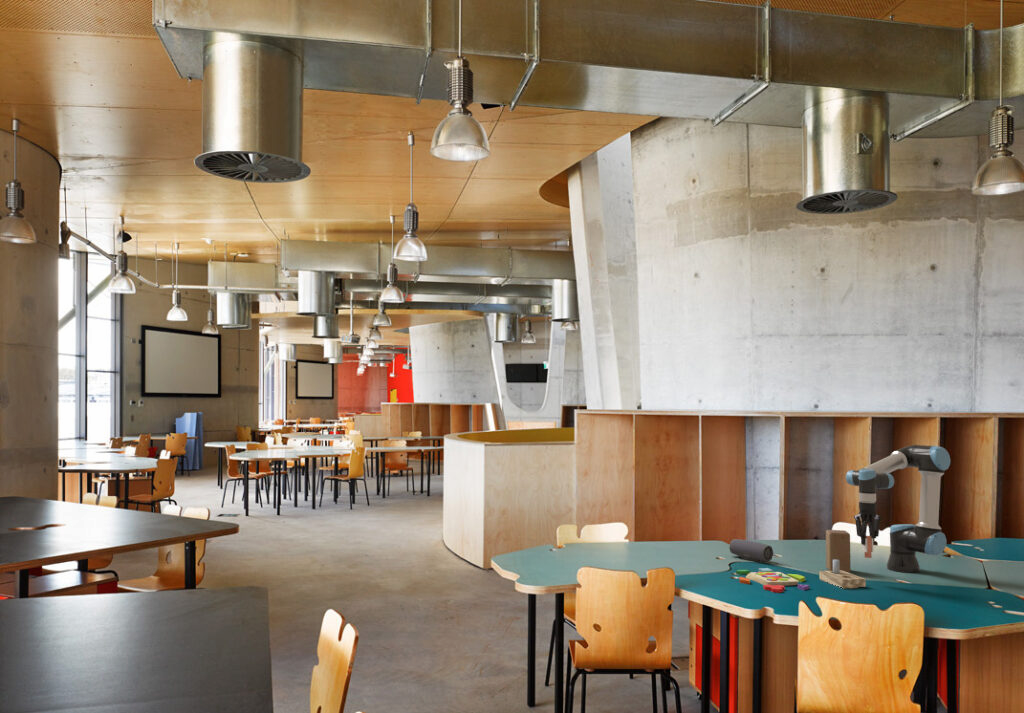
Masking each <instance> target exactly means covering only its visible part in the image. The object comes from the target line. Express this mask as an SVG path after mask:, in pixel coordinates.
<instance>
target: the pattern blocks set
mask: <svg viewBox="0 0 1024 713" xmlns="http://www.w3.org/2000/svg"><path fill="white" fill-rule="evenodd" d="M735 574H736V575H738V576H739V578H738V579H739V583H740V584H744V585H751V581H754V582H756V583H759V584H761V585H763V586H762V589H763V590H764V591H769V592H772V593H776V594H779V593H783V592H784V591H785V588H786V586H787V587H788V586H797V587H796V588H797V589H799V590H801V591H806V590H810V585H809V584H799V583H803V582H806V577H805V576H803V575H800V574H794V573H793V574H792V573H786V574H785V573H783V572H781V571H774V570H773V569H771V568H769V567H765V568H763V567H761V568H760V567H759V568H758V571H757V572H756V571H754V572H753V571H751V570H749V569H738V570H736V571H735ZM740 575H741V576H740ZM742 575H743V576H744V575H746V576H745V577H743V576H742Z"/></svg>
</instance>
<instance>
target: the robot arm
mask: <svg viewBox="0 0 1024 713" xmlns="http://www.w3.org/2000/svg"><path fill="white" fill-rule="evenodd" d="M950 465H951V457H950V454H949V452H948V450H947V449H946V448H944V447H942V446H938V445H923V444H922V445H921V444H913V445H912V444H911V445H907V446H904V447H901V448H899V449H897V450H896V449H895V450H894V451H893V452H891V453H890V455H888V456H885V457H884V458H882V459H880V460H878V461H876V462H874V463H872V464H869V465H867V466H865V467H863V468H862V467H861V469H858V470H855V469H854V470H848V471H847V472H846V474H845V480H846V483H847V484H848V485H850V486H854V487H858V501H859V502H858V509H859V512H858V514H857V515H854V516H853V518H854V520H855V530H856V535H857V536H858V537H859V538H860V543H861V544H860V545H862V547H861V548H862V552H864V553H865V552H867V538H866V536H867V529H868V533H869V536H871V553H874V545H875V542H876V541H875V539H877V537H879V534H880V524H881V523H880V522H881V520H882V515H878V514H877V503H876V502H877V490H881V489H882V490H887V489H891V488H893V487H894V485H895V478H894V476H893V474H891V473H892V472H894V471H897V470H899V469H900V470H903V469H906V468H918V469H917V470H918V471H917V472H918V473H919V474H920V493H919V494H920V496H919V515H918V523H916V524H911V523H909V524H908V523H903V524H892V525H891V526H890V528H889V529H890V530H889V544H890V548H889V550H890V551H889V552H890V554H889V556H888V560H887V563H886V568H887V569H888V570H891V571H893V572H899V573H911V574H912V573H913V574H914V573H919V572H920V570H921V569H920V564H919V561H918V559H917V555H916V553H922V554H926V555H931V556H938V555H940V554H942V553H943V552H944V551H945V549H946V547H947V537H946V535H945V533H944V532H942V527H941V526H940V524H939V519H940V518H939V516H940V514H939V513H940V512H939V511H940V497H941V496H940V494H941V478H942V476H943V475H945V471H946V470H948V469H949V467H950Z"/></svg>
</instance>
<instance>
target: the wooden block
mask: <svg viewBox="0 0 1024 713" xmlns="http://www.w3.org/2000/svg"><path fill="white" fill-rule="evenodd" d="M833 560H839V566H840V570H842V571H845V572H848V573H850V574H851V534H850V533H849V532H848V531H847V530H842V529H841V530H840V529H839V530H838V529H836V530H835V529H826V530H825V564H826V565H825V566H826V569H827V571H833Z"/></svg>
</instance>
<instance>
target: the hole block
mask: <svg viewBox="0 0 1024 713" xmlns="http://www.w3.org/2000/svg"><path fill="white" fill-rule="evenodd" d="M818 577H819V580H820V581H823V582H825V583H827V582H828V583H827V584H829V585H832V584H833V586H835V585H836V586H835V587H837V586H839V587H838V588H840V587H842V588H843V589H859V588H858V587H866V581H867V580H866V578H864V577H861V576H858V575H855V574H853V573H851V572H850V573H848V572H845V571H842V570H840V574H833V571H829V570H820V571H819V576H818ZM842 588H841V589H842Z"/></svg>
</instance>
